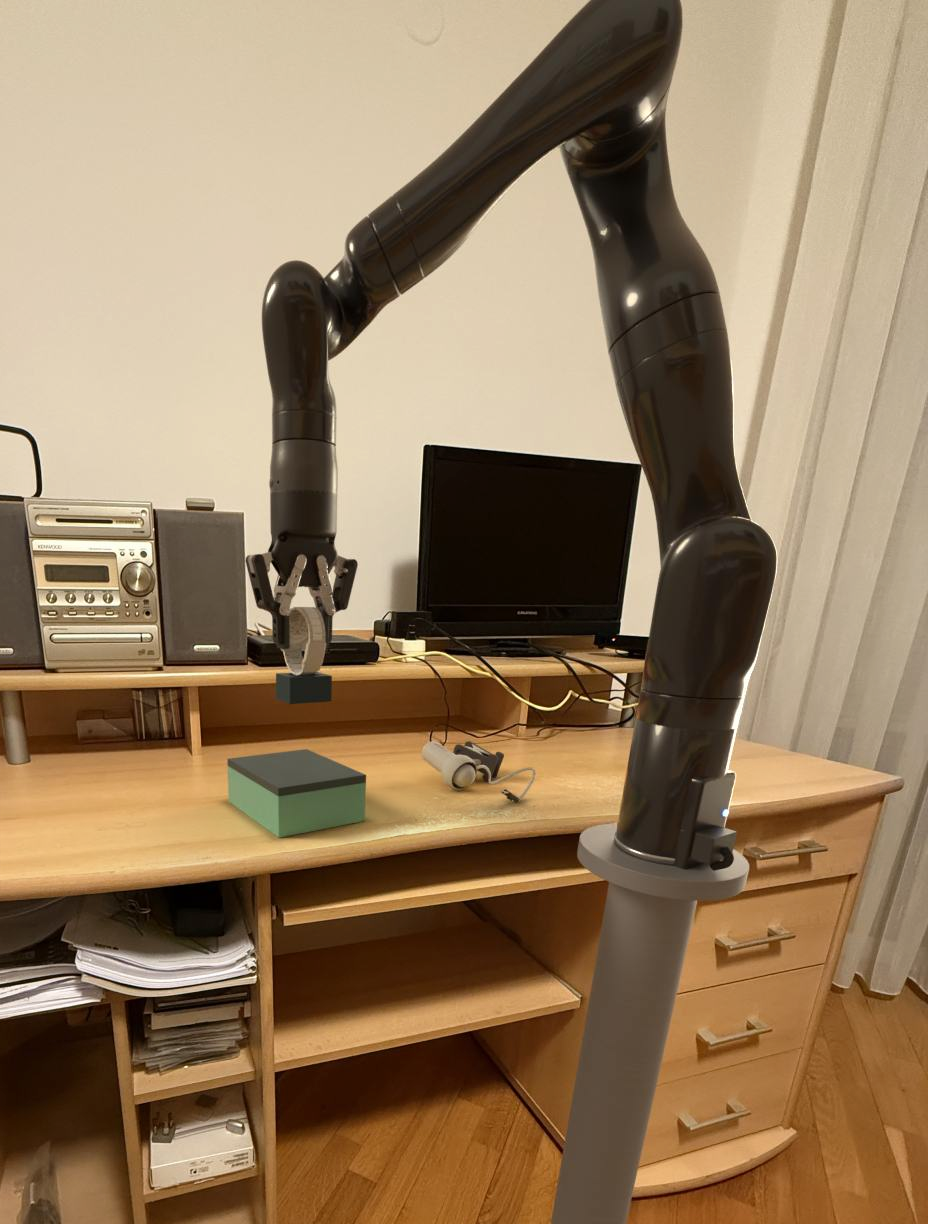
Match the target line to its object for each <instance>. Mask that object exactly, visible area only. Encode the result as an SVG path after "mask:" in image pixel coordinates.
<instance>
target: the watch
mask: <svg viewBox="0 0 928 1224" xmlns="http://www.w3.org/2000/svg"><path fill="white" fill-rule="evenodd" d="M287 616H290V647H289V649H280V651H281V652H282V653H283V656H284V661H285V664H286V667H287V668H288V670H289V672H276V673H275V699H276V700H278V701H281V702H283V703H286V704H289V705H299V704H314V703H329V702H332V694H333V693H332V692H333V691H332V689H333V688H332V686H333V676H332V675H331V674H327V673H323V672H319V671H320V670H321V668H322V665H323V663H324V659H325V653H326V649H327V648H326V643H325V638H323V637H325V626H324V621H323V618H322V615H321V613H320V612H319V610H318V609H317V608H316V606H293V607H290V609H289V612H288V614H287ZM302 652H304V655H303V653H302Z"/></svg>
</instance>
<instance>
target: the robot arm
mask: <svg viewBox="0 0 928 1224" xmlns="http://www.w3.org/2000/svg"><path fill="white" fill-rule="evenodd" d="M683 25H684V24H683V5H682V2H681V0H589V1H587V2H586V3H585V5H583V6H582V7H581V9H580V10H579V11H577V13H575V14H574V15H573V16H572V18H570V20H569V21H568V22H567V23H566V24H565V25H564V26H563V27H562V28H561V30H560V31H559V32H558V33H557V34H556V35H555V36H554V37H553V38H552V39H551V40H550V42H548V44H547V45H545V47H544V48H543V49H542V50H541V51H539V53H538V55H536V56H535V58H534V59H533V60H532V61H531V62H530V63H529V64H528V65H527V66H526V68H524V70H523V71H521V72H520V74H518V76H517V77H515V79H514V80H513V81H512V82H510V84H509V85H508V86H507V87H506V88H505V90H504V91H502V93H500V94H499V95H498V97H496V99H495V100H494V101H493V102H492V103H491V104H490V105H489V106H488V107H487V108H486V109H485V110H484V111H483V112H482V113H481V114H480V115H479V117H477V119H475V121H474V122H473V123H471V125H470V126H469V127H468V128H466V130H465V131H464V132H463V133H462V134H460V136H459V137H458V138H457V139H455V140H454V142H453V143H452V144H450V145H449V147H447V148H446V149H445V150H444V151H443V152H442V153H441V154H440V155H439V156H438V157H437V158H436V159H435V160H433V161H432V162H431V163H430V164H429V165H428V166H427V167H425V168H424V169H423V170H422V171H421V172H419V173H418V174H417V175H415V177H413V178H411V180H410V181H408V182H407V183H406V184H404V185H403V186H402V187H401V188H400V189H398V190H397V191H395V192H394V193H393V194H392V195H390V197H388V198H387V199H386V200H385V201H383V202H382V203H380V205H378V206H377V207H376V208H374V209H373V210H372V211H371V212H370V213H368V215H367V216H364V217H363V218H362V219H361V220H360V221H359V222H358V223H356V224H355V225H354V226H353V227H352V229H350V231H348V233H347V235H346V237H345V239H344V252H343V253H344V254H343V256H342V258H341V259H340V261H339V262H337V264H336V265H335V266H334V267H333V268H332V269H331V270H330V271H329V272H328V273H327V274H326V275H325V276H323V275H322V273H321V272H320V271H319V270H318V269H317V268H316V267H314V266H313V265H312V264H310V263H308V262H306V261H303V260H296V259H295V260H289V261H286V262H284V263H282V264H280V265H279V266H278V267H277V268H276V269H275V270H274V272H272V274H271V276H270V277H269V279H268V282H267V283H266V286H265V289H264V292H263V297H262V303H261V332H262V341H263V350H264V355H265V363H266V371H267V376H268V381H269V387H270V391H271V401H272V404H271V456H270V465H269V481H268V486H269V503H270V504H269V507H270V509H269V512H270V513H269V514H270V516H269V517H270V519H269V520H270V536H271V542H270V545H269V547H268V548H267V549H268V550H267V552H266V551H265V552H263V553H255V554H248V555H247V556H245V566H246V569H247V572H248V576H249V577H248V578H249V581H250V585H251V589H252V593H253V597H254V601H255V605H256V608H258V609H259V610H263V611H266V612H268V613H270V615H271V619H272V620H271V624H272V625H271V627H272V629H271V630H272V631H271V632H272V633H271V636H272V637H271V639H272V641H273V644H276V648H277V649H280V650H281V649H289V647H290V616H287V614H288V612H289V609H290V608H291V605H292V602H293V598H294V597H295V596H296V594H297V591H298V589H299V588H302V587H304V588H308V591H309V592H308V593H309V595H310V596H311V597H312V599H313V602H314V607H315V608H317V609H318V610H319V612H320V613H321V615H322V618H323V621H324V626H325V637H323V638H325V643H326V649H327V648H329V647H330V646H329V645H330V644H331V642H332V640H333V621H334V620H333V617H334V615H335V614H336V613H338V612H340V611H346V610H347V609H348V606H349V602H350V599H351V595H352V590H353V587H354V582H355V578H356V574H357V571H358V566H359V563H358V561H357V560H356V559H355V558H346V557H343V556H341V555H339V554H338V551H337V549H336V545H335V540H336V536H337V530H338V529H337V528H338V527H337V526H338V525H337V524H338V481H339V479H338V477H339V476H338V473H339V472H338V471H339V470H338V469H339V468H338V460H337V459H338V458H337V447H336V446H337V401H336V395H335V391H334V388H333V386H332V384H331V379H330V373H329V361H331V360H333V359H334V358H336V357H337V356H338V355H340V354H341V353H342V352H343V351H345V350H346V349H347V348H348V347H349V346H350V345H351V344H352V343H353V342H354V341H355V340H356V339H357V338H358V337H359V336H360V335H361V334H362V333H363V332H364V331H365V329H367V328H368V326H370V325H371V323H372V322H374V320H375V319H376V317H377V316H378V315H379V314H380V312H381V311H382V310H383V309H384V308H386V306H388V305H389V304H391V303H392V302H394V301H395V300H397V299H398V298H399V297H401V296H403V295H404V294H405V293H406V292H408V291H410V290H411V289H412V288H413V287H415V286H416V285H418V284H419V283H421V282H422V281H423V280H424V279H426V278H427V277H428V276H429V275H431V274H433V273H434V272H435V271H436V270H437V269H438V268H440V267H441V266H442V265H443V264H444V263H446V261H448V260H449V259H450V258H451V257H452V256H453V255H454V254H455V253H456V252H458V250H459V249H460V248H461V247H462V246H463V245H464V244H465V243H466V242H467V240H468V239H469V238H470V237H471V235H472V234H473V233H474V232H475V231H476V230H477V228H478V227H479V226H480V224H481V223H482V222H483V221H484V220H485V218H486V217H487V216H488V214H489V213H490V212H491V211H492V209H493V208H494V207H495V206H496V205H497V204H498V202H499V201H500V200H501V199H502V198H503V197H504V196H505V195H506V194H507V193H508V191H510V190H511V188H512V187H514V186H515V184H516V183H518V181H519V180H520V179H521V178H522V177H523V176H524V175H525V174H527V173H528V172H529V171H530V170H531V169H532V168H533V167H534V166H536V165H537V164H538V163H539V162H541V161H542V160H543V159H545V158H546V157H547V156H548V155H549V154H551V153H553V152H554V151H555V150H556V149H558V148H559V152H560V155H561V158H562V162H563V165H564V168H565V171H566V173H567V176H568V178H569V181H570V184H571V187H572V190H573V193H574V195H575V199H576V201H577V205H578V207H579V210H580V214H581V217H582V220H583V222H584V226H585V228H586V232H587V235H588V239H589V242H590V247H591V250H592V255H593V261H594V270H595V271H594V272H595V277H596V279H595V280H596V286H597V294H598V295H597V296H598V300H599V307H600V313H601V317H602V318H601V319H602V325H603V330H604V336H605V343H606V349H607V353H608V358H609V362H610V363H609V364H610V367H611V372H612V376H613V380H614V384H615V388H616V393H617V397H618V400H619V403H620V407H621V411H622V414H623V417H624V420H625V424H626V428H627V430H628V433H629V437H630V439H631V442H632V444H633V447H634V450H635V453H636V456H637V457H638V460H639V463H640V466H641V468H642V471H643V474H644V476H645V479H646V482H647V485H648V488H649V491H650V496H651V500H652V504H653V510H654V515H655V516H654V517H655V524H656V531H657V538H658V539H657V540H658V550H659V551H658V552H659V562H660V563H659V564H660V570H659V575H658V579H657V586H656V593H655V598H654V603H653V609H652V616H651V622H650V629H649V633H648V640H647V645H646V651H645V657H644V663H643V671H642V679H641V685H640V690H639V696H638V702H637V708H636V712H635V713H636V714H635V718H634V725H633V731H632V737H631V741H630V749H629V754H628V760H627V765H626V772H625V778H624V783H623V789H622V796H621V800H620V801H621V802H620V806H619V814H618V818H617V819H618V820H617V822H616V823H617V831H616V833H615V836H614V844H615V846H616V847H617V848H618V849H620V850H621V851H623V852H625V853H627V854H629V855H631V856H633V857H636V858H639V859H642V860H645V861H649V862H654V863H658V864H664V865H671V866H675V867H678V868H681V869H689V868H692V867H695V866H698V865H701V864H704V863H706V864H710V868H711V869H712V870H714V871H715V870H720V869H725V868H728V867H730V866H731V865H732V863H733V861H734V856H733V853H732V852H733V849H734V848H735V843H736V839H737V836H738V831H736V830H733V829H731V828H730V829H729V828H726V822H727V819H728V815H729V813H730V810H729V809H730V804H731V801H732V796H733V794H734V793H733V792H734V787H735V784H736V779H737V773H736V772H735V771H732V770H729V767H730V763H731V759H732V754H733V749H734V746H735V741H736V737H737V736H736V735H737V731H738V727H739V722H740V718H741V714H742V711H743V710H742V709H743V704H744V700H745V696H746V692H747V688H748V685H749V681H750V677H751V674H752V672H753V670H754V667H755V664H756V662H757V658H758V654H759V650H760V645H761V641H762V637H763V632H764V629H765V625H766V621H767V616H768V613H769V608H770V604H771V600H772V595H773V591H774V587H775V582H776V576H777V571H778V552H777V548H776V545H775V542H774V540H773V539H772V537H771V535H770V534H769V533H768V531H767V530H765V528H763V527H762V526H761V525H760V524H758V523H756V522H755V521H753V519H752V517H751V514H750V512H749V507H748V505H747V502H746V498H745V495H744V490H743V488H742V485H741V481H740V477H739V472H738V468H737V461H736V455H735V435H734V434H735V430H734V429H735V419H734V418H735V416H734V414H735V413H734V411H735V410H734V408H735V406H734V405H735V404H734V403H735V402H734V379H733V367H732V365H733V364H732V357H731V349H730V342H729V333H728V328H727V323H726V319H725V318H726V317H725V312H724V308H723V302H722V298H721V293H720V289H719V285H718V282H717V277H716V275H715V272H714V269H713V266H712V265H711V263H710V261H709V258H708V256H707V255H706V252H705V251H704V249H703V247H702V246H701V244H700V243H699V241H698V240H697V238H696V237H695V235H694V234H693V232H692V230H691V229H690V228H689V226H688V224H687V223H686V221H685V220H684V218H683V216H682V213H681V211H680V209H679V207H678V203H677V201H676V198H675V197H676V196H675V192H674V187H673V183H672V175H671V168H670V167H671V166H670V161H669V152H668V142H667V130H666V128H667V127H666V114H667V113H666V112H667V103H668V98H669V93H670V89H671V85H672V81H673V76H674V74H675V70H676V66H677V62H678V57H679V52H680V47H681V42H682V34H683ZM271 565H272V567H273V568H274V570H275V571H276V573H277V576H276V580H275V584H274V588H273V590H272V586H271V581H270V576H269V572H270V570H271ZM333 568H334V570H333ZM332 570H333V573H334V574H335V578H334V582H333V586H332V583H331V579H330V575H329V574H330V573H331V571H332ZM721 860H722V861H721Z"/></svg>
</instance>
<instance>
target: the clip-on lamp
mask: <svg viewBox="0 0 928 1224" xmlns="http://www.w3.org/2000/svg"><path fill="white" fill-rule="evenodd" d="M504 757H505V754H504V753H503V752H500V751H496V752H495V754H494V753H492V752H491V751H489V750H487V749H485V748H483V747H481V746H480V745H478V744H476V743H474V742H473V741H471V740H468V741H465V743H464V745H463V744H461V743H458V744H456V745H454V747H453V751H451V750H450V749H448V748H446V747H445V745H443V744H441V743H439V742H438V741H437V740H436V741H435V740H432V741H428V742H427V743H426V744H424V746H423V747H422V750H421V758H422V759H423V760H424V762H426V763H427V764H428V765H430V766H431V767H432V768H434V769H435V770H436V771H437V772H439V773H440V774H441V778H442V780H443V782H444V784H445V785H447V787H449V788H450V789H452V790H458V791H462V790H465V789H467V788H469V786H471V785H472V784H473V783H474V781H476V780H475V779H476V777H477V775H478V772H479V773H481V774H482V779H483V781H485V782H488V785H489V786H494V785H496V784H499V783H501V782H503V781H505V780H508V779H509V778H511V777H513V776H516V775H518V774H521V773H522V772H526V771H531V772H532V776H531V778H530V780H529V782H528V784H527V786H526V788H524V790H523V791H522V792H521V794H520V795H519V796H517V795H516V794H514V793H512V792H511V791H510V790H508V789H503V790H502V791H501V792H500V793H501V794H502V795H504V796H505V797H506V799H507V800H509V801H510V802H512V801H513V802H514V803H519V802H520V800H521V799H523V797H524V796H525V795H526V794H527V792H528V791H529V789H530V788H531V786H532V784H533V782H534V780H535V777H536V769H535V768H534V767H530V766H527V767H523V768H520V769H516V770H515V771H512V772H510V773H508V774H505V775H504V776H502V777H500V778H497V777H498V774H499V771H500V768H501V766H502V763H503V760H504ZM496 778H497V779H496ZM493 779H494V780H493ZM492 780H493V781H492Z"/></svg>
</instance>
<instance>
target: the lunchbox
mask: <svg viewBox="0 0 928 1224" xmlns="http://www.w3.org/2000/svg"><path fill="white" fill-rule="evenodd" d="M226 763H227V791H228V803H230V804H231V805H233V806H234V807H235V808H237V809H238V810H240V811H241V812H242V813H243V814H245V815H246V816H248V817H249V818H251V820H254V821H255V822H256V823H257V824H259V825H260V826H262V827H263V828H264V829H266V830H267V831H269V832H270V833H271V834H273V835H274V836H276V838H279V839H280V838H285V837H290V836H295V835H301V834H305V833H310V832H315V831H320V830H325V829H329V828H330V829H331V828H335V827H340V826H345V825H350V824H355V823H360V822H361V823H362V822H365V820H366V799H367V798H366V797H367V796H366V795H367V774H365V773H364V772H360V771H358V770H356V769H354V768H351V767H349V766H346V765H344V764H342V763H341V762H340V763H339V762H338V761H335V760H333V759H331V758H328V757H326V756H324V755H322V754H319V753H317V752H315V751H312V750H310V749H307V748H303V749H295V750H288V751H287V750H286V751H280V752H271V753H263V754H262V753H261V754H253V755H246V756H239V757H231V758H227V761H226Z"/></svg>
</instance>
